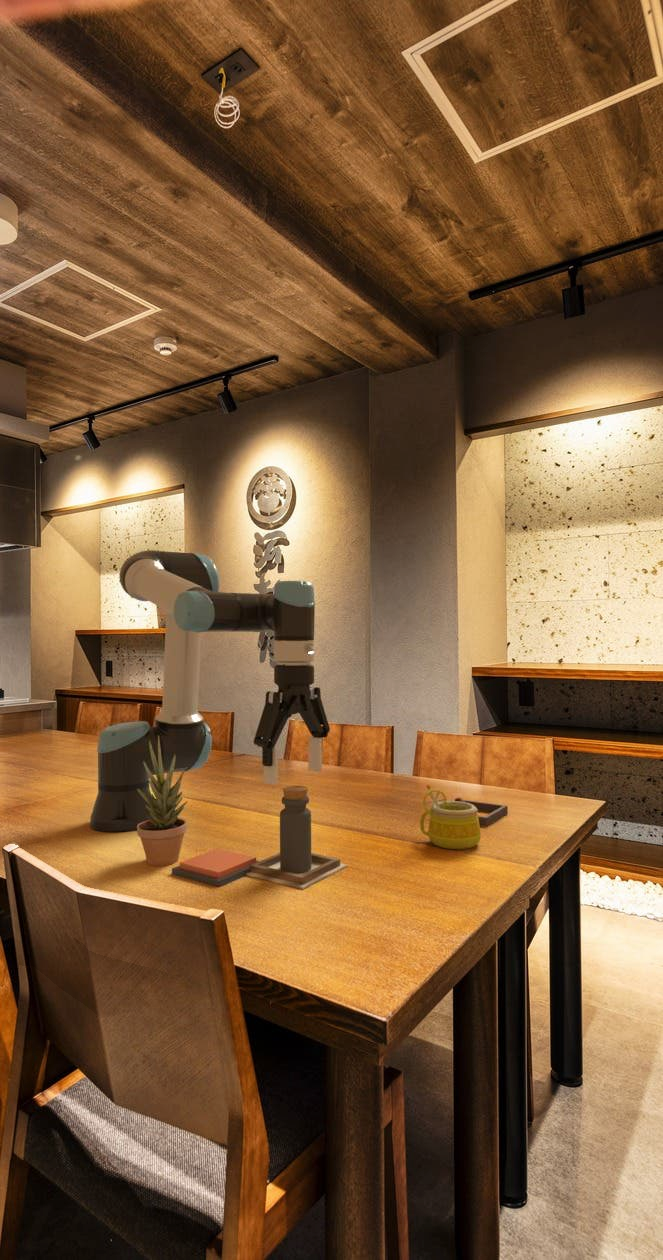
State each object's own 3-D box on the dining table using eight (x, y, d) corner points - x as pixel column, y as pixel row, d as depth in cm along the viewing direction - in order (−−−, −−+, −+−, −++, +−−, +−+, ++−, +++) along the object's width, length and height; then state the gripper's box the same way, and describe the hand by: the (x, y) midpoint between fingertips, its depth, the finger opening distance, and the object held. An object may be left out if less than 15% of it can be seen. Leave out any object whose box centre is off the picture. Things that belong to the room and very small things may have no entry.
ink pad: (171, 873, 125) (171, 862, 125) (217, 856, 135) (217, 846, 135) (219, 886, 118) (219, 875, 118) (264, 867, 128) (263, 856, 128)
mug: (485, 840, 145) (485, 783, 145) (474, 855, 135) (473, 794, 135) (427, 833, 150) (427, 778, 150) (412, 847, 140) (411, 789, 140)
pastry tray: (432, 818, 162) (432, 809, 162) (456, 806, 174) (455, 798, 174) (486, 826, 155) (486, 817, 155) (507, 813, 166) (507, 805, 166)
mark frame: (242, 874, 124) (242, 865, 124) (289, 853, 136) (289, 846, 136) (303, 889, 117) (303, 880, 117) (347, 866, 128) (347, 858, 128)
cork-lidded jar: (307, 874, 123) (307, 791, 123) (276, 872, 124) (275, 790, 124) (314, 864, 129) (313, 785, 129) (284, 862, 130) (284, 784, 130)
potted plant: (134, 857, 135) (133, 733, 135) (182, 850, 139) (181, 730, 139) (141, 872, 126) (140, 739, 126) (192, 865, 129) (191, 736, 130)
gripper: (266, 667, 114) (266, 792, 114) (347, 661, 135) (347, 768, 135) (233, 665, 119) (233, 786, 119) (316, 660, 139) (316, 764, 139)
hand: (293, 777), depth 127 cm, fingers open, 13 cm apart
